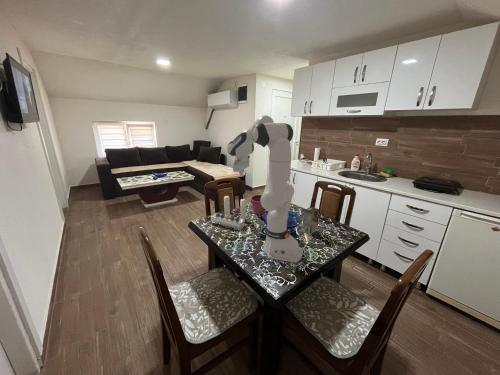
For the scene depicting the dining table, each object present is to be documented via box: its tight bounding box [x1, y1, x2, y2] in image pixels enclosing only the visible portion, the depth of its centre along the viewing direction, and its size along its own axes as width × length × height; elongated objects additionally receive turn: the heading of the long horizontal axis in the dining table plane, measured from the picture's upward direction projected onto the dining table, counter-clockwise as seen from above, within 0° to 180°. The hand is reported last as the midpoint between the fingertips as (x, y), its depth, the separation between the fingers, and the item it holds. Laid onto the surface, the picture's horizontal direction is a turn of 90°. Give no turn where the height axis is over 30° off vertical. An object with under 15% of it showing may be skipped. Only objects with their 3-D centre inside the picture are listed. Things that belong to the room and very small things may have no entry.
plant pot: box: [250, 194, 267, 216], centre depth 168 cm, size 14×14×13 cm
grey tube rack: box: [210, 212, 246, 231], centre depth 150 cm, size 25×8×7 cm, turn 65°
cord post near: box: [239, 198, 247, 221], centre depth 155 cm, size 4×4×16 cm
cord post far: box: [223, 195, 231, 216], centre depth 161 cm, size 4×4×16 cm
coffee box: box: [301, 206, 320, 236], centre depth 140 cm, size 9×6×16 cm
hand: (241, 175), depth 160 cm, fingers closed
